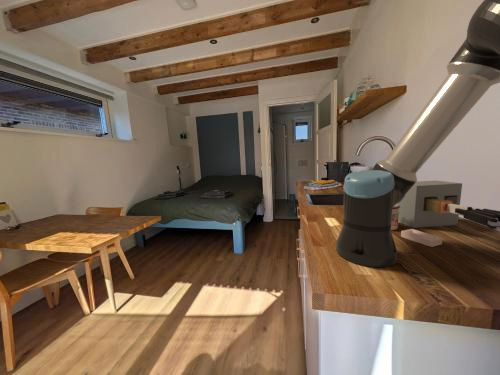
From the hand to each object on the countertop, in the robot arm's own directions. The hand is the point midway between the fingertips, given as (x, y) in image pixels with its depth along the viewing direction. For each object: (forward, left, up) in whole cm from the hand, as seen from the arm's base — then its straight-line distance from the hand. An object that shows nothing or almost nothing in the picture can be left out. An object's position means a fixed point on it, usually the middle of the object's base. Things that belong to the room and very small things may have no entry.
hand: (449, 207), depth 68 cm
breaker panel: (+2, +11, -9) cm, 14 cm away
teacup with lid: (-15, +10, -9) cm, 20 cm away
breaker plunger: (-1, +5, -2) cm, 6 cm away
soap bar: (-14, -4, -10) cm, 17 cm away
